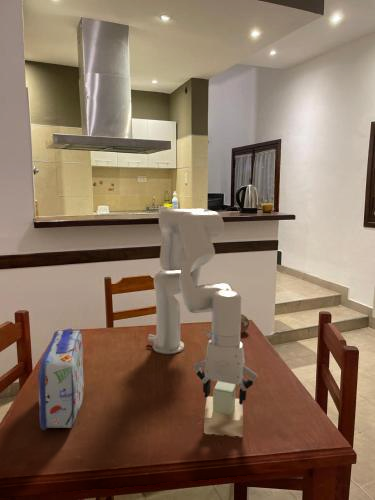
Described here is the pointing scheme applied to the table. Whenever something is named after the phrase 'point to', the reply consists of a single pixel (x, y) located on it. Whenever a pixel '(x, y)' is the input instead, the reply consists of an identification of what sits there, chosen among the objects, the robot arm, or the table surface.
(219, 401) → the sage block
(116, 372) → the table surface
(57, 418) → the lunch box
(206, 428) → the maple block
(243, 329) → the tin
